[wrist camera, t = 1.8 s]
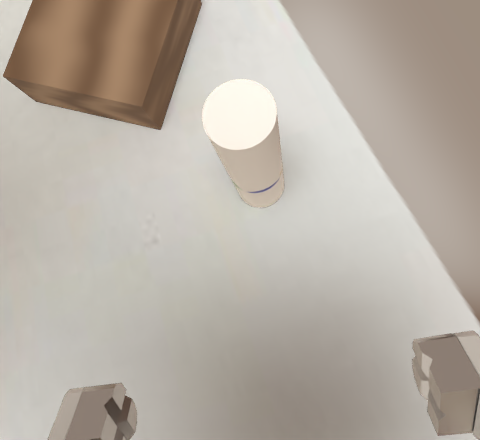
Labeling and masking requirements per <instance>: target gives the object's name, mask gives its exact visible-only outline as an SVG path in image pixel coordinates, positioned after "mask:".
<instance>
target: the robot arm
mask: <svg viewBox="0 0 480 440" xmlns="http://www.w3.org/2000/svg"><path fill="white" fill-rule="evenodd" d="M412 349H413V351H414V353H415V357H414V358H413V359H412V368H413V373H414V378H415V381H416V384H417V387H418V390H419V392H420V395H421V396H422V397H424V398H425V399H426V400H428V404H427V412H428V414H429V416H430V419H431V421H432V424H433V426H434V428H435V431H436V433H437V435H438V436H441V435H452V434H463V433H473V435H474V436H475V437H476V438H477V439H479V440H480V337H479V336H478V334H477V333H476V332H474V331H467V332H461V333H454V334H451V333H450V334H444V335H438V336H432V337H426V338H419V339H414V340H413V347H412ZM125 393H126V388H125V387H124V385H123V384H122V383H116V384H108V385H99V386H91V387H83V388H76V389H70V390H69V391H68V392H67V393H66V394H65V396H64V399H63V401H62V404H61V406H60V409H59V412H58V414H57V417H56V419H55V422H54V424H53V427H52V430H51V432H50V435H49V437H48V440H130V438H131V437H132V436H133V435H134V433H135V430H136V425H137V410H136V406H135V403H134V402H133V400H132V399H131V398H129V397H127V396H125Z"/></svg>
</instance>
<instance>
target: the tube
mask: <svg viewBox="0 0 480 440" xmlns="http://www.w3.org/2000/svg"><path fill="white" fill-rule="evenodd" d="M202 123H203V127H204V129H205V131H206V133H207V135H208V137H209V139H210V141H211V143H212V144H213V146H214V148H215V150H216V152H217V154H218V156H219V158H220V159H221V161H222V163H223V165H224V167H225V169H226V171H227V172H228V174H229V176H230V178H231V180H232V181H233V183H234V185H235V187H236V189H237V191H238V193H239V194H240V196H241V198H242V199H243V200H244V202H246V203H247V204H248V205H250V206H253V207H257V208H264V207H268V206H271V205H272V204H274V203H275V202H277V201H278V200H279V198H280V197H281V195H282V193H283V190H284V176H283V166H282V156H281V147H280V137H279V127H278V118H277V108H276V103H275V100H274V98H273V96H272V95H271V93H270V92H269V91H268V90H267V89H266V88H265V87H264V86H263V85H261V84H260V83H257V82H255V81H252V80H248V79H237V80H231V81H228V82H225V83H223V84H222V85H220V86H218V87H217V88H216V89H215V90H213V91H212V93H211V94H210V95H209V96H208V98H207V100H206V101H205V104H204V106H203V111H202Z"/></svg>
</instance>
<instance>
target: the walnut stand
mask: <svg viewBox="0 0 480 440" xmlns="http://www.w3.org/2000/svg"><path fill="white" fill-rule="evenodd" d="M201 5H202V3H201V0H33V1H32V4H31V6H30V9H29V11H28V14H27V16H26V19H25V21H24V24H23V26H22V29H21V31H20V34H19V36H18V39H17V41H16V44H15V47H14V49H13V52H12V54H11V57H10V59H9V62H8V64H7V67H6V69H5V72H4V74H3V77H5V78H6V79H7V80H8V81H10V82H11V83H12V84H14V85H15V86H16V87H18V88H19V89H20V90H22V91H23V92H24V93H26V94H27V95H28V96H29V97H31V98H32V99H33V100H35V101H36V102H40V103H45V104H49V105H54V106H58V107H62V108H67V109H71V110H76V111H80V112H84V113H89V114H93V115H98V116H102V117H106V118H111V119H115V120H120V121H124V122H128V123H133V124H137V125H141V126H146V127H150V128H155V129H159V130H161V127H162V124H163V121H164V118H165V115H166V112H167V108H168V105H169V102H170V99H171V96H172V93H173V90H174V87H175V84H176V81H177V78H178V75H179V72H180V69H181V66H182V63H183V60H184V57H185V54H186V50H187V47H188V44H189V41H190V38H191V35H192V32H193V29H194V26H195V23H196V20H197V17H198V14H199V11H200V8H201Z"/></svg>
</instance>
